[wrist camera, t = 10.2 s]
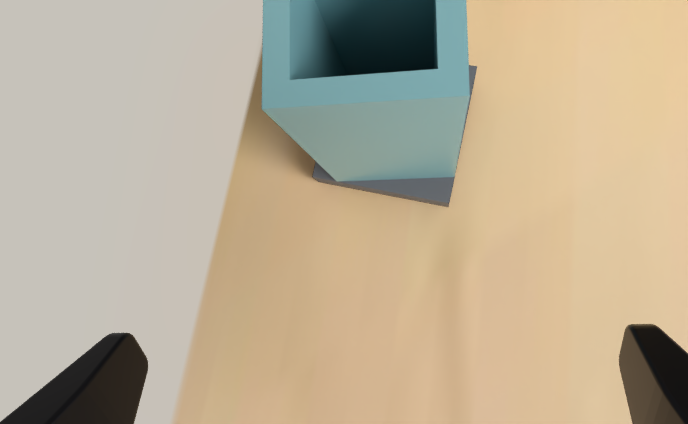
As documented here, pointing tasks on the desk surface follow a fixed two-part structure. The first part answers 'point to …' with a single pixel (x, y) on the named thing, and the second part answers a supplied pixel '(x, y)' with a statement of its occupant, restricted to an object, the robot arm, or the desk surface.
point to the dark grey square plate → (409, 189)
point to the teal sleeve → (369, 83)
